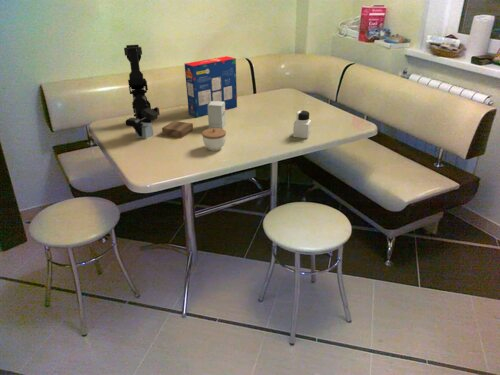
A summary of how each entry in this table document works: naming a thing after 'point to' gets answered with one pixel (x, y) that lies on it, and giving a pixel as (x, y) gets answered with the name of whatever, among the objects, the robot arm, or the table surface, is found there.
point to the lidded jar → (214, 138)
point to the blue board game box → (210, 84)
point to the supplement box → (216, 114)
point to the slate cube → (145, 130)
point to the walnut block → (177, 129)
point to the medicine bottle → (302, 125)
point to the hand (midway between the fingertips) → (144, 134)
